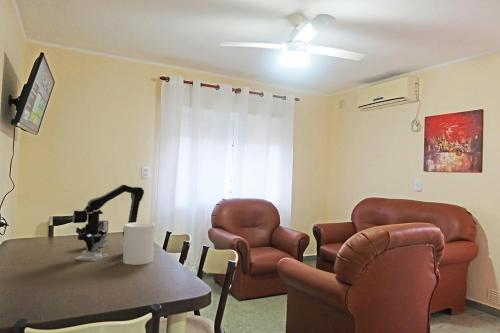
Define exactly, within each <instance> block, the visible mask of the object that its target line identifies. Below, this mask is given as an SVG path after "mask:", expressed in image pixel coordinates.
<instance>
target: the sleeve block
mask: <svg viewBox="0 0 500 333" xmlns="http://www.w3.org/2000/svg"><path fill="white" fill-rule="evenodd" d="M108 256H109V254H108V253H103V249H100V248H98V251H95V252H87V251H86V249H85V250H82V251H81V255H79V256H77V257H75V258H74V261H75V260H76V261H88V262H98V261H100V260H101V259H104V258H106V257H108Z"/></svg>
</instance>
